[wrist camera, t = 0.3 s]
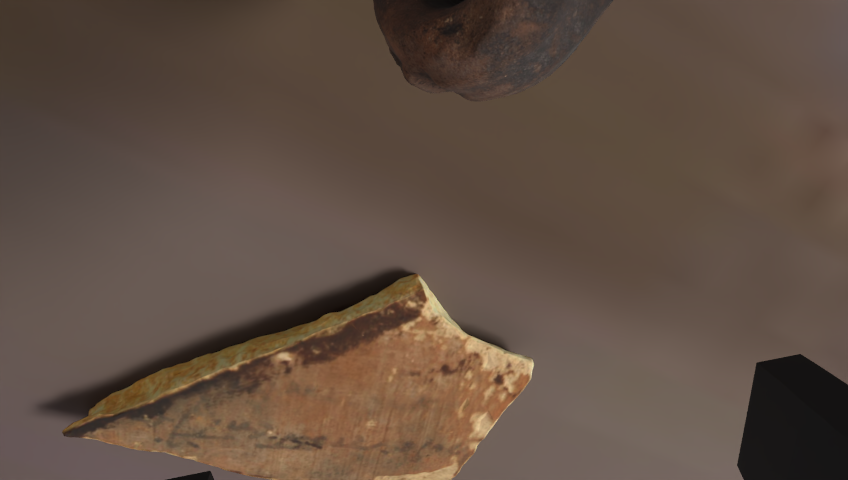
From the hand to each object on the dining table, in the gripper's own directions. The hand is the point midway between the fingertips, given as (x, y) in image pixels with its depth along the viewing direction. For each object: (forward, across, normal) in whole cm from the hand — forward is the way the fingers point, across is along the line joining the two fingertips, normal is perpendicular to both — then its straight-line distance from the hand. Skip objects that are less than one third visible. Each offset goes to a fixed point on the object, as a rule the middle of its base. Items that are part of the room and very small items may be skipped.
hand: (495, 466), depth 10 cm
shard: (+10, +3, +8) cm, 13 cm away
